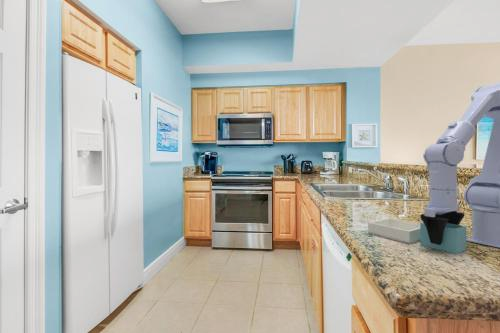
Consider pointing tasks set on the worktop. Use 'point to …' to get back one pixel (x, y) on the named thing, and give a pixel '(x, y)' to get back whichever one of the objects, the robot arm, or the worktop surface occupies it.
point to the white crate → (395, 230)
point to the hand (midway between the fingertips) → (442, 241)
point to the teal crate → (446, 238)
